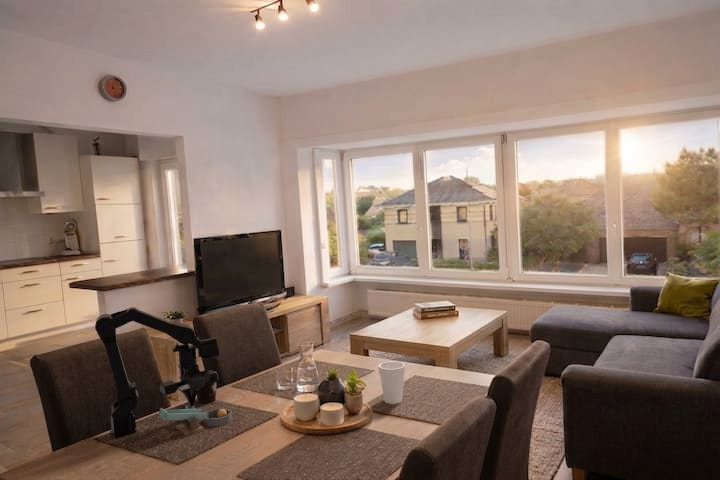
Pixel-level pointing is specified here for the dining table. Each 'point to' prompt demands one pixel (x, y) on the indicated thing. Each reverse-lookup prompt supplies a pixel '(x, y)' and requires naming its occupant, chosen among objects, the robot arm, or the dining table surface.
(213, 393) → the coffee mug
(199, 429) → the fulcrum
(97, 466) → the dining table surface
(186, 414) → the lever
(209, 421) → the bowl
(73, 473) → the dining table surface
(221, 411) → the ball
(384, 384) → the foam cup
